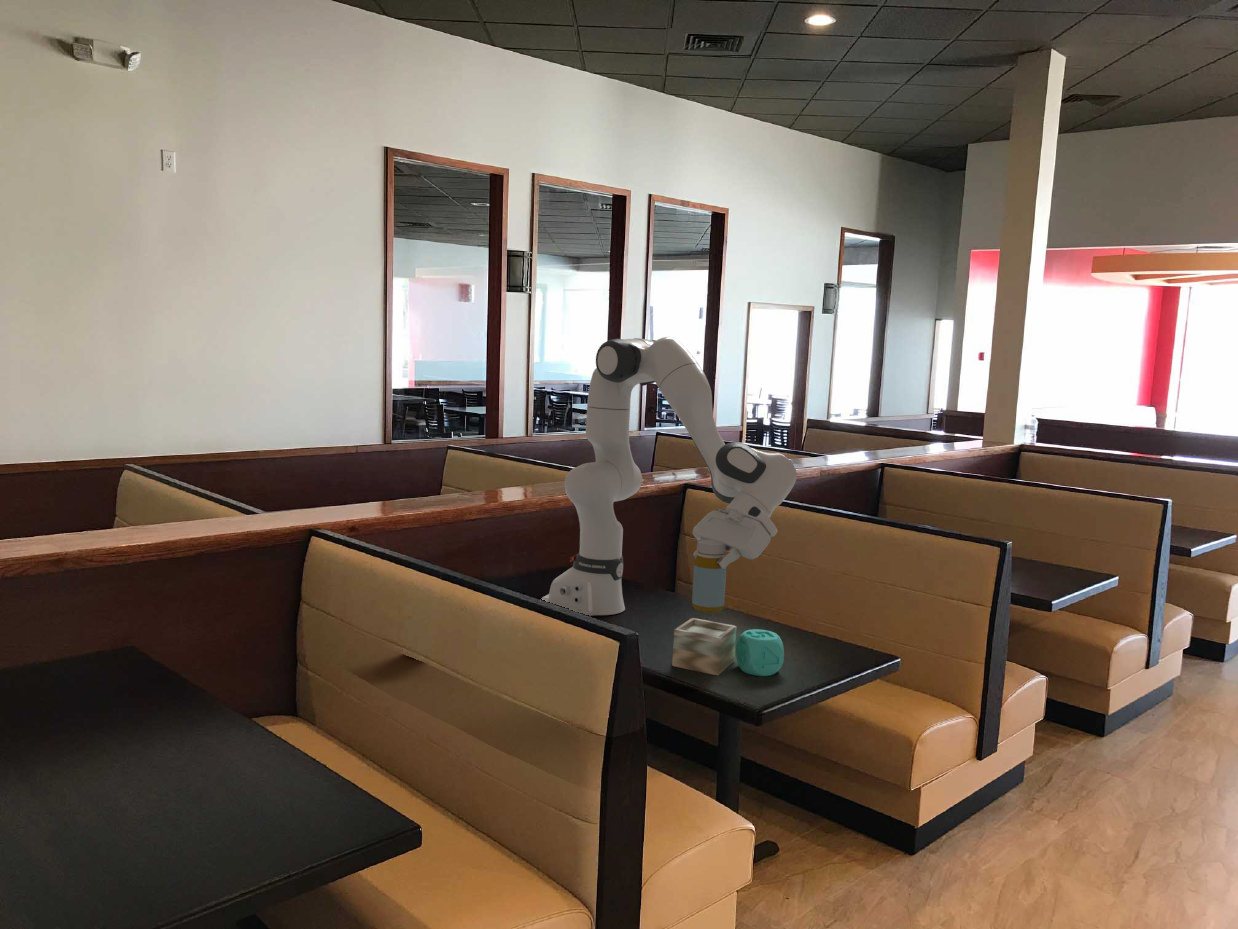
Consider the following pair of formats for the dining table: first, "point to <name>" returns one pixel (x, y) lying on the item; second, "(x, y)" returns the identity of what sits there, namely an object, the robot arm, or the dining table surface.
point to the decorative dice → (759, 652)
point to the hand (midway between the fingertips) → (708, 562)
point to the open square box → (704, 646)
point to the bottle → (709, 577)
